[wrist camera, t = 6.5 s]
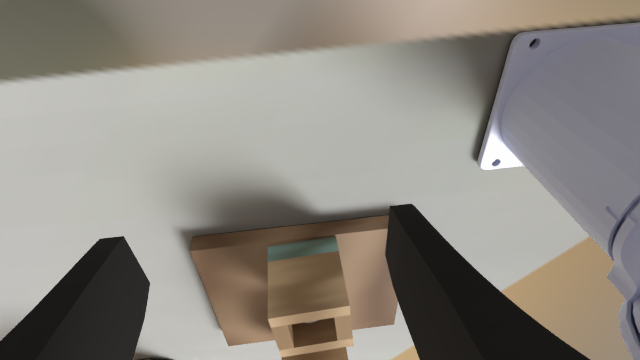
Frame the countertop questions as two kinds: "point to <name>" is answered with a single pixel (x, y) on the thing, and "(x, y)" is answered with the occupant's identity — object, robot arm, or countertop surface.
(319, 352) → the seated sleeve
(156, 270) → the countertop surface
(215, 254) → the pin board
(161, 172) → the countertop surface
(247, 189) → the countertop surface
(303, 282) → the sleeve
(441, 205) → the countertop surface
